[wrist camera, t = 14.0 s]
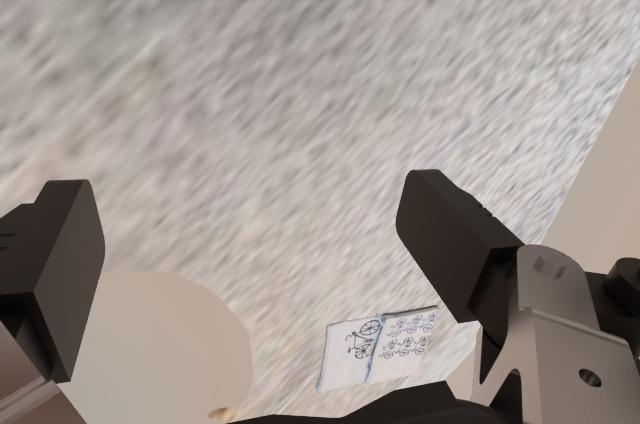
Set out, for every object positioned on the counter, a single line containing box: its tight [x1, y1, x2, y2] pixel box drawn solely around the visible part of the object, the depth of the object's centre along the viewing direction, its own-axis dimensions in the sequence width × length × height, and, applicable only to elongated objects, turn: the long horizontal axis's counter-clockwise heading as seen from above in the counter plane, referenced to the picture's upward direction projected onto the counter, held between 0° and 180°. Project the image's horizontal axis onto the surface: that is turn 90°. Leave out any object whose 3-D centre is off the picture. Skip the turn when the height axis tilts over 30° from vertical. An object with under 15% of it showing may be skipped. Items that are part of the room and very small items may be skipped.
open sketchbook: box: [315, 307, 439, 393], centre depth 68 cm, size 19×20×2 cm
